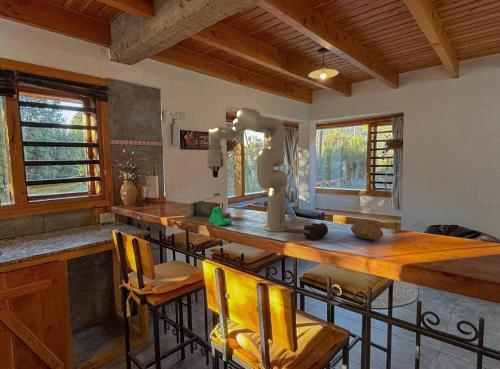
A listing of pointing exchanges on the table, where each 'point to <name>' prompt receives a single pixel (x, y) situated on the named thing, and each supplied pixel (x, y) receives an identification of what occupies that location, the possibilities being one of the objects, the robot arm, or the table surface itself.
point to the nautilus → (367, 230)
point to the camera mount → (218, 217)
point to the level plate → (208, 197)
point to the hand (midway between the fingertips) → (215, 177)
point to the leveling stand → (203, 211)
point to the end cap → (315, 231)
